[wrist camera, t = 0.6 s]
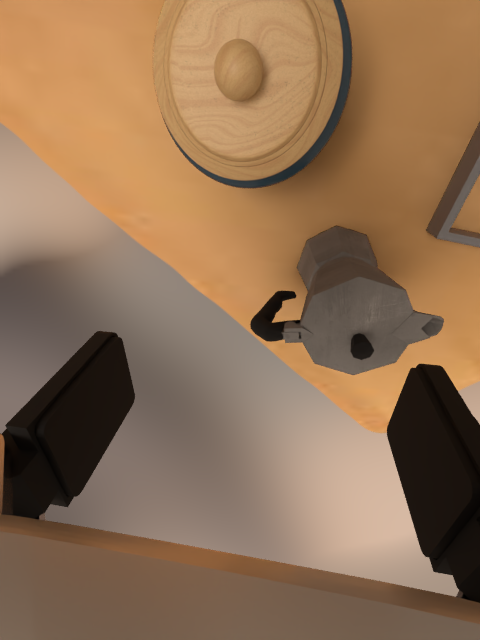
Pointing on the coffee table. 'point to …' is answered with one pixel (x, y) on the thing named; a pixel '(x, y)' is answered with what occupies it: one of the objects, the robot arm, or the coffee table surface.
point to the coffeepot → (347, 307)
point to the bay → (458, 197)
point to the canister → (252, 83)
